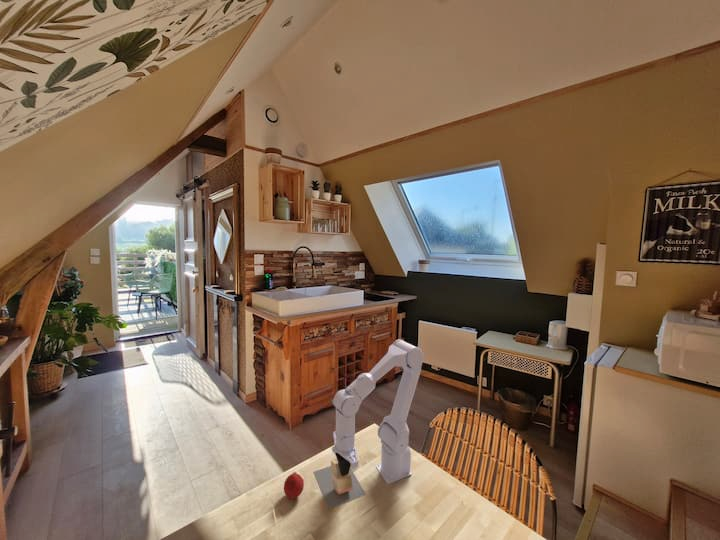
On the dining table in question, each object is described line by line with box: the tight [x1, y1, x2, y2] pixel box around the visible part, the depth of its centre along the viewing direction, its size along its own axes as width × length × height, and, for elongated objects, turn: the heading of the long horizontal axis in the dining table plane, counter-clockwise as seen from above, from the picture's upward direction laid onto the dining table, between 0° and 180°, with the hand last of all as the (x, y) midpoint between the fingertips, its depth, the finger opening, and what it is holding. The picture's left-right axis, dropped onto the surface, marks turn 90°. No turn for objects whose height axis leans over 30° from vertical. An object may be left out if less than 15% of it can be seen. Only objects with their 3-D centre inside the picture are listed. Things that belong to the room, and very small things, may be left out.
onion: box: [283, 471, 305, 500], centre depth 87 cm, size 6×6×8 cm
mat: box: [313, 465, 367, 510], centre depth 92 cm, size 12×15×1 cm
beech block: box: [330, 457, 353, 494], centre depth 90 cm, size 4×4×8 cm
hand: (344, 473), depth 87 cm, fingers closed
